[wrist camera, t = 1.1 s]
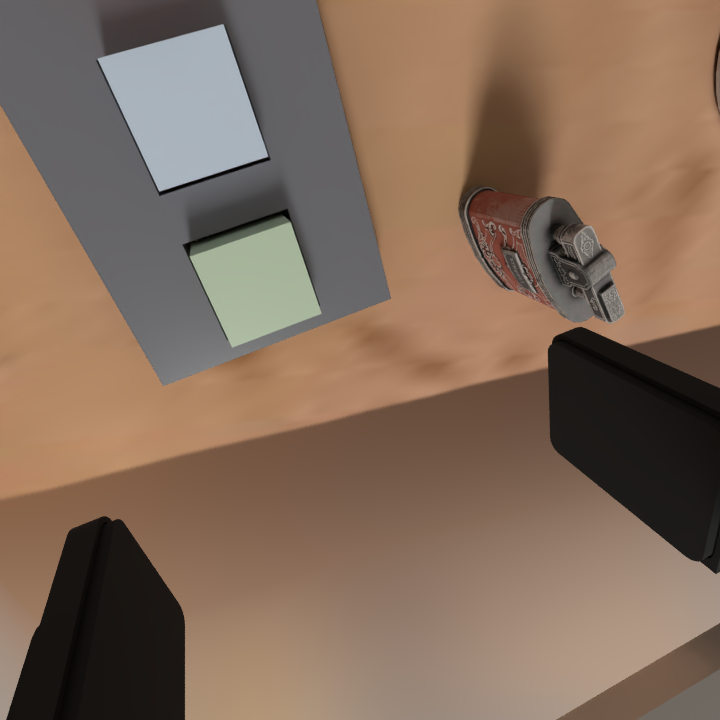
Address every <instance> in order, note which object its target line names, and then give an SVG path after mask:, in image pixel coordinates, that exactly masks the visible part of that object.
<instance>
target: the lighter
mask: <svg viewBox="0 0 720 720" xmlns="http://www.w3.org/2000/svg"><path fill="white" fill-rule="evenodd" d="M458 211H459V217H460V220H461V223H462V226H463V229H464V232H465V235H466V238H467V240H468V242H469V244H470V246H471V248H472V251H473V253H474V255H475V257H476V258H477V260H478V261H479V262H480V264H481V265H482V267H483V268H484V270H485V271H486V273H487V274H488V275H489V276H490V277H491V278H492V279H493V280H494V281H495V282H496V283H497V285H499V286H500V287H502V288H504V289H506V290H508V291H517V292H519V293H521V294H523V295H525V296H527V297H529V298H532V299H534V300H536V301H538V302H540V303H542V304H544V305H546V306H548V307H551V308H553V309H555V310H557V311H558V312H559V314H560V315H561V316H563V317H564V318H566V319H568V320H570V321H572V322H578V323H580V322H583V321H586V320H587V319H589V318H591V317H592V316H594V317H596V318H598V319H600V320H602V321H605V322H607V323H609V324H611V323H614V322H616V321H618V320H619V319H620V318H621V317H622V316H623V315H624V313H625V311H624V307H623V304H622V301H621V299H620V296H619V294H618V291H617V288H616V286H615V283H614V281H613V278H612V275H611V273H610V271H611V270H613V269H614V268H615V267H616V261H615V259H614V257H613V255H612V254H611V253H610V252H609V251H608V250H606V249H605V248H604V247H603V246H602V245H601V244H599V242H598V239H597V236H596V234H595V231H594V229H593V227H591V226H588V225H584V224H583V222H582V221H581V220H580V218H579V217H578V215H577V214H576V212H575V211H574V209H573V208H572V207H571V205H570V204H569V202H567V201H566V200H565V199H562V198H556V197H550V196H547V197H543V198H540V199H538V198H532V197H526V196H520V195H514V194H507V193H501V192H497V191H496V190H495V189H494V188H490V187H484V186H477V187H474V188H472V189H470V190H469V191H468V192H467V193H466V194H465V195H464V196H463V198H462V200H461V201H460V204H459V209H458Z"/></svg>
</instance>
